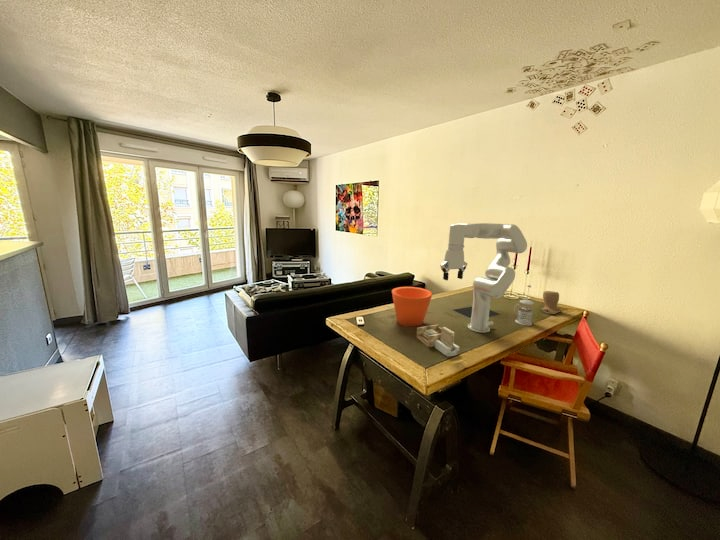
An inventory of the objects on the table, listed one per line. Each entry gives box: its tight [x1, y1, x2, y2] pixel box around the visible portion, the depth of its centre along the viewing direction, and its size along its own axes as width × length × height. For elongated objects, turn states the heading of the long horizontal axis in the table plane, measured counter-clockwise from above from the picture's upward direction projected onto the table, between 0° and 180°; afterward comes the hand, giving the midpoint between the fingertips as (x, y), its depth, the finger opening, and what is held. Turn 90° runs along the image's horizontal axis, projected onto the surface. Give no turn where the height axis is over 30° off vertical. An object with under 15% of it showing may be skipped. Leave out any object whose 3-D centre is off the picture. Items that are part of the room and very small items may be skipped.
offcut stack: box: [423, 329, 438, 341], centre depth 143 cm, size 5×7×6 cm
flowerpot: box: [391, 286, 433, 328], centre depth 169 cm, size 25×25×20 cm
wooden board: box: [441, 326, 455, 351], centre depth 133 cm, size 2×7×12 cm, turn 22°
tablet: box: [451, 306, 502, 320], centre depth 191 cm, size 27×1×20 cm
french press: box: [513, 284, 535, 326], centre depth 172 cm, size 10×12×25 cm
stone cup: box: [540, 290, 562, 315], centre depth 193 cm, size 15×12×15 cm
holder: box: [433, 339, 460, 358], centre depth 134 cm, size 7×10×5 cm, turn 22°
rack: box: [416, 323, 442, 348], centre depth 144 cm, size 14×11×7 cm
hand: (452, 279), depth 145 cm, fingers open, 9 cm apart
